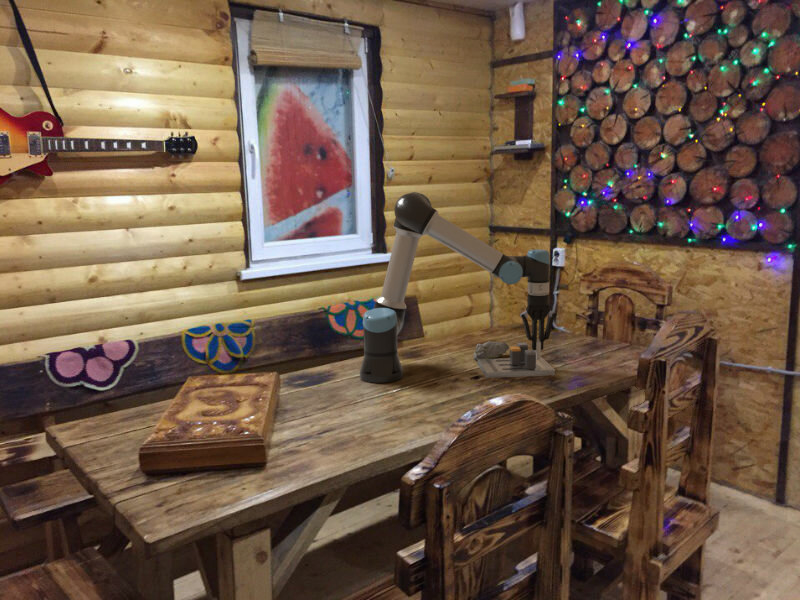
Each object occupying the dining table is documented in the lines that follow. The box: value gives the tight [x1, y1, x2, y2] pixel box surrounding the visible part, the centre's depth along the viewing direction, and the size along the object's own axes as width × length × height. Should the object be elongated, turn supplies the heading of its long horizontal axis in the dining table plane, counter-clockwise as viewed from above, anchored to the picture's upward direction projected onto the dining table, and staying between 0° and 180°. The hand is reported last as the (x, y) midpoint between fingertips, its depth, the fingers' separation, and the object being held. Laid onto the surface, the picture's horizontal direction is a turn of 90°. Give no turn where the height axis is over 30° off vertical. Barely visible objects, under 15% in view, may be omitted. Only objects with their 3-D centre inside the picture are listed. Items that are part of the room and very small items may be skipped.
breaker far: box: [516, 342, 529, 361], centre depth 238 cm, size 3×4×6 cm
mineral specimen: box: [472, 340, 510, 361], centre depth 250 cm, size 16×7×7 cm, turn 119°
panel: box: [477, 356, 556, 379], centre depth 233 cm, size 24×17×2 cm
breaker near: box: [525, 349, 536, 369], centre depth 227 cm, size 3×4×6 cm
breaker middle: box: [509, 346, 521, 365], centre depth 232 cm, size 3×4×6 cm
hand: (537, 358), depth 233 cm, fingers closed
